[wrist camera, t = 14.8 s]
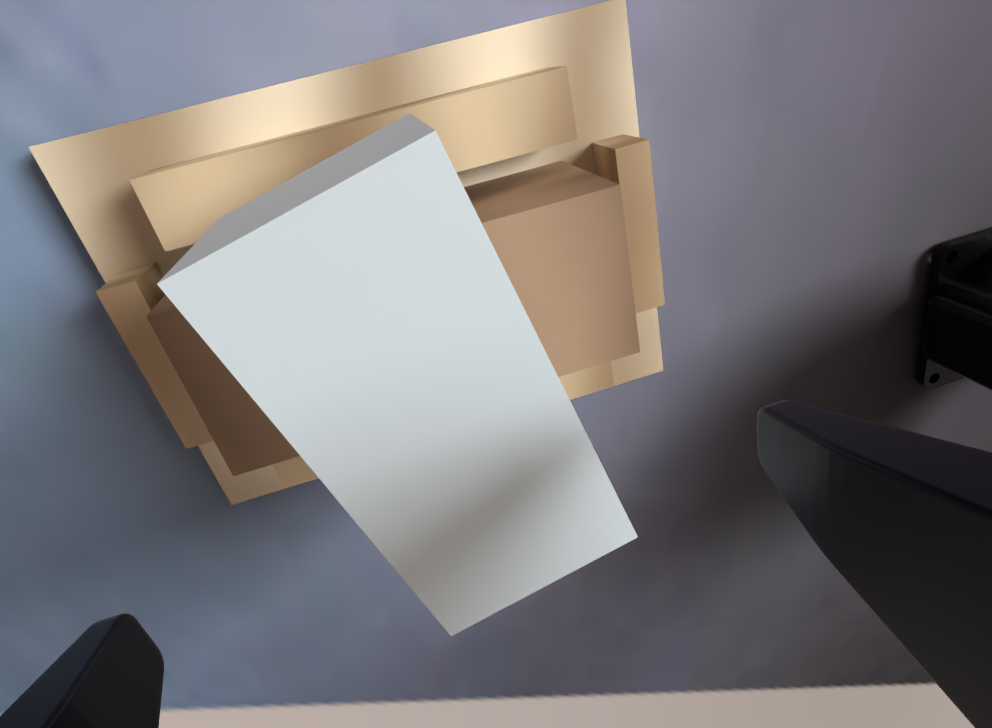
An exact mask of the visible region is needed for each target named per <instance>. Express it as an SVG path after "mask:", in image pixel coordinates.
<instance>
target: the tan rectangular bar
mask: <svg viewBox="0 0 992 728" xmlns="http://www.w3.org/2000/svg"><path fill="white" fill-rule="evenodd" d="M464 189H465V191H466V193H467V195H468V197H469V199H470V201H471V203H472V205H473V207H474V209H475V211H476V213H477V215H478V217H479V219H480V221H481V223H482V225H483V227H484V229H485V231H486V233H487V235H488V237H489V239H490V241H491V243H492V245H493V247H494V249H495V251H496V253H497V255H498V257H499V259H500V261H501V263H502V265H503V267H504V269H505V271H506V273H507V275H508V277H509V279H510V281H511V283H512V285H513V287H514V289H515V291H516V293H517V295H518V297H519V299H520V301H521V303H522V305H523V307H524V309H525V311H526V313H527V315H528V317H529V319H530V321H531V323H532V325H533V327H534V329H535V331H536V333H537V335H538V337H539V339H540V341H541V343H542V345H543V347H544V349H545V351H546V353H547V355H548V357H549V359H550V361H551V363H552V365H553V367H554V369H555V371H556V373H557V375H558V377H560V376H564V375H567V374H570V373H573V372H577V371H580V370H583V369H586V368H590V367H593V366H596V365H600V364H603V363H606V362H609V361H613V360H616V359H619V358H622V357H626V356H629V355H632V354H636V353H639V352H640V346H639V337H638V329H637V320H636V312H635V304H634V295H633V287H632V278H631V270H630V261H629V253H628V245H627V236H626V228H625V219H624V211H623V203H622V194H621V186H620V184H618V183H615V182H613V181H610V180H608V179H605V178H603V177H601V176H598V175H596V174H593V173H591V172H588V171H586V170H583V169H581V168H578V167H576V166H573V165H571V164H569V163H566V162H564V161H558V162H555V163H551V164H547V165H544V166H540V167H536V168H533V169H529V170H525V171H521V172H518V173H514V174H510V175H507V176H503V177H499V178H496V179H492V180H488V181H485V182H481V183H477V184H474V185H470V186H466V187H464ZM146 317H147V319H148V321H149V323H150V324H151V326H152V328H153V330H154V332H155V334H156V335H157V337H158V339H159V341H160V343H161V345H162V346H163V348H164V350H165V352H166V354H167V356H168V358H169V359H170V361H171V363H172V365H173V367H174V369H175V370H176V372H177V374H178V376H179V378H180V380H181V381H182V383H183V385H184V387H185V389H186V391H187V392H188V394H189V396H190V398H191V400H192V402H193V403H194V405H195V407H196V409H197V411H198V413H199V414H200V416H201V418H202V420H203V422H204V424H205V425H206V427H207V429H208V431H209V433H210V435H211V436H212V438H213V440H214V442H215V444H216V446H217V447H218V449H219V451H220V453H221V455H222V457H223V458H224V460H225V462H226V464H227V466H228V468H229V469H230V471H231V473H232V475H233V476H236V475H240V474H243V473H246V472H250V471H253V470H256V469H259V468H263V467H266V466H269V465H272V464H276V463H279V462H282V461H286V460H289V459H292V458H295V457H299V456H300V455H299V454H298V452H297V451H296V450H295V449H294V448H293V446H292V445H291V444H290V443H289V442H288V441H287V439H286V438H285V437H284V436H283V435H282V433H281V432H280V431H279V430H278V429H277V427H276V426H275V425H274V424H273V423H272V421H271V420H270V419H269V418H268V417H267V415H266V414H265V413H264V412H263V411H262V409H261V408H260V407H259V406H258V405H257V403H256V402H255V401H254V400H253V399H252V397H251V396H250V395H249V394H248V393H247V391H246V390H245V389H244V388H243V387H242V385H241V384H240V383H239V382H238V381H237V379H236V378H235V377H234V376H233V375H232V373H231V372H230V371H229V370H228V369H227V367H226V366H225V365H224V364H223V363H222V361H221V360H220V359H219V358H218V357H217V356H216V354H215V353H214V352H213V351H212V350H211V348H210V347H209V346H208V345H207V344H206V342H205V341H204V340H203V339H202V338H201V336H200V335H199V334H198V333H197V332H196V330H195V329H194V328H193V327H192V326H191V324H190V323H189V322H188V321H187V320H186V318H185V317H184V316H183V315H182V314H181V312H180V311H179V310H178V309H177V308H176V306H175V305H174V304H173V303H172V302H171V300H170V299H169V298H168V297H167V296H166V294H165V296H164V297H163V298H162V299H161V300H160V301H159V302H158V304H157V305H156V306H155V307H154V308H153V309H152V310H151V312H150V313H149V314H148V315H147V316H146Z"/></svg>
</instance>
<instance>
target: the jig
mask: <svg viewBox="0 0 992 728" xmlns="http://www.w3.org/2000/svg"><path fill="white" fill-rule="evenodd" d="M409 113H410V114H412V115H413V116H415V117H416V118H418V119H419V120H421V121H422V122H424V123H425V124H427V125H428V126H430V127H431V128H433V129H434V130H436V132H437V134H438V136H439V138H440V140H441V142H442V145H443V147H444V149H445V151H446V153H447V155H448V157H449V159H450V161H451V163H452V165H453V167H454V169H455V171H456V173H457V175H458V177H459V179H460V181H461V183H462V185H463V187H466V186H470V185H474V184H477V183H481V182H485V181H488V180H492V179H496V178H499V177H503V176H507V175H510V174H514V173H518V172H521V171H525V170H529V169H533V168H536V167H540V166H544V165H547V164H551V163H555V162H558V161H564V162H566V163H569V164H571V165H573V166H576V167H578V168H581V169H583V170H586V171H588V172H591V173H593V174H596V175H598V176H601V177H603V178H605V179H608V180H610V181H613V182H615V183H618V184H620V186H621V194H622V203H623V211H624V219H625V228H626V236H627V245H628V253H629V261H630V270H631V278H632V287H633V295H634V304H635V312H636V320H637V329H638V337H639V346H640V352H639V353H636V354H632V355H629V356H626V357H622V358H619V359H616V360H613V361H609V362H606V363H603V364H600V365H596V366H593V367H590V368H586V369H583V370H580V371H577V372H573V373H570V374H567V375H564V376H560V377H559V379H560V382H561V384H562V386H563V388H564V390H565V392H566V394H567V396H568V398H569V400H571V399H574V398H577V397H580V396H583V395H587V394H590V393H593V392H596V391H600V390H603V389H606V388H609V387H612V386H616V385H619V384H622V383H625V382H628V381H632V380H635V379H638V378H641V377H644V376H648V375H651V374H654V373H657V372H660V371H663V363H662V353H661V343H660V333H659V324H658V314H657V307H659V306H663V305H665V300H664V290H663V279H662V269H661V258H660V248H659V237H658V227H657V216H656V206H655V195H654V184H653V174H652V163H651V153H650V142H649V140H648V139H643V138H639V128H638V118H637V108H636V98H635V89H634V79H633V69H632V59H631V50H630V40H629V30H628V20H627V10H626V1H625V0H611V1H607V2H603V3H599V4H595V5H591V6H587V7H583V8H579V9H575V10H571V11H568V12H564V13H560V14H556V15H552V16H548V17H544V18H540V19H536V20H532V21H528V22H524V23H520V24H516V25H512V26H508V27H504V28H500V29H496V30H492V31H488V32H484V33H480V34H476V35H472V36H468V37H464V38H460V39H456V40H452V41H448V42H444V43H440V44H437V45H433V46H429V47H425V48H421V49H417V50H413V51H409V52H405V53H401V54H397V55H393V56H389V57H385V58H381V59H377V60H373V61H369V62H365V63H361V64H357V65H353V66H349V67H345V68H341V69H337V70H333V71H329V72H325V73H321V74H317V75H313V76H309V77H305V78H302V79H298V80H294V81H290V82H286V83H282V84H278V85H274V86H270V87H266V88H262V89H258V90H254V91H250V92H246V93H242V94H238V95H234V96H230V97H226V98H222V99H218V100H214V101H210V102H206V103H202V104H198V105H194V106H190V107H186V108H182V109H178V110H174V111H170V112H167V113H163V114H159V115H155V116H151V117H147V118H143V119H139V120H135V121H131V122H127V123H123V124H119V125H115V126H111V127H107V128H103V129H99V130H95V131H91V132H87V133H83V134H79V135H75V136H71V137H67V138H63V139H59V140H55V141H51V142H47V143H43V144H39V145H35V146H32V147H29V149H30V151H31V152H32V154H33V156H34V158H35V159H36V161H37V163H38V165H39V166H40V168H41V170H42V172H43V173H44V175H45V177H46V179H47V181H48V182H49V184H50V186H51V188H52V189H53V191H54V193H55V195H56V196H57V198H58V200H59V202H60V203H61V205H62V207H63V209H64V211H65V212H66V214H67V216H68V218H69V219H70V221H71V223H72V225H73V226H74V228H75V230H76V232H77V233H78V235H79V237H80V239H81V241H82V242H83V244H84V246H85V248H86V249H87V251H88V253H89V255H90V256H91V258H92V260H93V262H94V263H95V265H96V267H97V269H98V271H99V272H100V274H101V276H102V278H103V279H104V281H105V283H106V284H104V285H103V286H102V287H101V288H100V289H98V290H97V291H96V292H95V293H96V294H97V296H98V298H99V299H100V301H101V303H102V305H103V306H104V308H105V310H106V312H107V313H108V315H109V317H110V318H111V320H112V322H113V324H114V325H115V327H116V329H117V330H118V332H119V334H120V336H121V337H122V339H123V341H124V343H125V344H126V346H127V348H128V349H129V351H130V353H131V355H132V356H133V358H134V360H135V362H136V363H137V365H138V367H139V368H140V370H141V372H142V374H143V375H144V377H145V379H146V381H147V382H148V384H149V386H150V387H151V389H152V391H153V393H154V394H155V396H156V398H157V399H158V401H159V403H160V405H161V406H162V408H163V410H164V412H165V413H166V415H167V417H168V418H169V420H170V422H171V424H172V425H173V427H174V429H175V431H176V432H177V434H178V436H179V437H180V439H181V441H182V443H183V444H184V446H185V448H186V449H189V448H192V447H195V446H198V447H199V449H200V451H201V452H202V454H203V456H204V458H205V459H206V461H207V463H208V465H209V466H210V468H211V470H212V472H213V474H214V475H215V477H216V479H217V481H218V482H219V484H220V486H221V488H222V489H223V491H224V493H225V495H226V496H227V498H228V500H229V502H230V504H231V505H234V504H237V503H240V502H244V501H247V500H250V499H253V498H256V497H260V496H263V495H266V494H269V493H272V492H276V491H279V490H282V489H285V488H288V487H292V486H295V485H298V484H301V483H304V482H308V481H311V480H314V479H317V478H318V476H317V475H316V474H315V473H314V472H313V470H312V469H311V468H310V467H309V466H308V464H307V463H306V462H305V461H304V460H303V458H302V457H301V456H299V457H295V458H292V459H289V460H286V461H282V462H279V463H276V464H272V465H269V466H266V467H263V468H259V469H256V470H253V471H250V472H246V473H243V474H240V475H236V476H233V475H232V473H231V471H230V469H229V468H228V466H227V464H226V462H225V460H224V458H223V457H222V455H221V453H220V451H219V449H218V447H217V446H216V444H215V442H214V440H213V438H212V436H211V435H210V433H209V431H208V429H207V427H206V425H205V424H204V422H203V420H202V418H201V416H200V414H199V413H198V411H197V409H196V407H195V405H194V403H193V402H192V400H191V398H190V396H189V394H188V392H187V391H186V389H185V387H184V385H183V383H182V381H181V380H180V378H179V376H178V374H177V372H176V370H175V369H174V367H173V365H172V363H171V361H170V359H169V358H168V356H167V354H166V352H165V350H164V348H163V346H162V345H161V343H160V341H159V339H158V337H157V335H156V334H155V332H154V330H153V328H152V326H151V324H150V323H149V321H148V319H147V317H146V316H147V315H148V314H149V313H150V312H151V310H152V309H153V308H154V307H155V306H156V305H157V304H158V302H159V301H160V300H161V299H162V298H163V297H164V296H165V293H164V292H163V291H162V290H161V288H160V287H159V286H158V285H157V283H158V282H159V281H160V280H161V279H162V278H163V277H164V276H165V275H166V274H167V273H168V272H169V271H170V270H171V269H172V267H173V266H174V265H175V264H176V263H177V262H178V261H179V260H180V259H181V258H182V257H183V256H184V255H185V254H186V253H187V252H188V251H189V250H190V249H191V248H192V247H193V245H194V244H195V243H196V242H197V241H198V240H199V239H200V238H201V237H202V236H203V235H204V234H205V233H206V232H207V231H208V230H209V229H210V228H211V227H212V226H213V225H214V223H215V222H216V221H217V220H218V219H219V218H220V217H222V216H224V215H226V214H228V213H229V212H231V211H233V210H235V209H237V208H239V207H240V206H242V205H244V204H246V203H248V202H249V201H251V200H253V199H255V198H257V197H258V196H260V195H262V194H264V193H266V192H267V191H269V190H271V189H273V188H275V187H277V186H278V185H280V184H282V183H284V182H286V181H287V180H289V179H291V178H293V177H295V176H296V175H298V174H300V173H302V172H304V171H305V170H307V169H309V168H311V167H313V166H315V165H316V164H318V163H320V162H322V161H324V160H325V159H327V158H329V157H331V156H333V155H334V154H336V153H338V152H340V151H342V150H343V149H345V148H347V147H349V146H351V145H353V144H354V143H356V142H358V141H360V140H362V139H363V138H365V137H367V136H369V135H371V134H372V133H374V132H376V131H378V130H380V129H381V128H383V127H385V126H387V125H389V124H391V123H392V122H394V121H396V120H398V119H400V118H401V117H403V116H405V115H407V114H409Z"/></svg>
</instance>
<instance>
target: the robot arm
mask: <svg viewBox="0 0 992 728" xmlns="http://www.w3.org/2000/svg"><path fill="white" fill-rule="evenodd" d="M947 256H948V257H947ZM962 378H967V379H969V380H971V381H973V382H975V383H977V384H979V385H981V386H983V387H985V388H988V389H990V390H992V228H991V229H987V230H984V231H981V232H978V233H974V234H971V235H968V236H965V237H961V238H958V239H955V240H951V241H948V242H945V243H943V244H941V245H940V246H939V247H937V248H936V250H935V251H934V253H933V256H932V261H931V268H930V276H929V284H928V291H927V299H926V307H925V315H924V322H923V330H922V338H921V345H920V353H919V361H918V368H917V376H916V380H917V382H918V383H919V384H920V385H922V386H924V387H926V388H929V389H930V388H935V387H938V386H941V385H944V384H947V383H950V382H953V381H956V380H959V379H962ZM757 452H758V458H759V461H760V464H761V466H762V468H763V469H764V471H765V472H766V474H767V475H768V476H769V478H770V479H771V481H772V482H773V484H774V485H775V486H776V488H777V489H778V491H779V492H780V493H781V495H782V496H783V498H784V499H785V501H786V502H787V503H788V505H789V506H790V508H791V509H792V510H793V512H794V513H795V515H796V516H797V518H798V519H799V520H800V522H801V523H802V525H803V526H804V527H805V529H806V530H807V532H808V533H809V535H810V536H811V537H812V539H813V540H814V542H815V543H816V544H817V546H818V547H819V548H820V550H821V551H822V552H823V554H824V555H825V556H826V557H827V558H828V560H829V561H830V562H831V563H832V564H833V566H834V567H835V568H836V569H837V570H838V571H839V573H840V574H841V575H842V576H843V577H844V578H845V579H846V581H847V582H848V583H849V584H850V585H851V586H852V587H853V589H854V590H855V591H856V592H857V593H858V594H859V595H860V597H861V598H862V599H863V600H864V601H865V602H866V603H867V605H868V606H869V607H870V608H871V609H872V610H873V611H874V613H875V614H876V615H877V616H878V617H879V618H880V619H881V621H882V622H883V623H884V624H885V625H886V626H887V627H888V629H889V630H890V631H891V632H892V633H893V634H894V635H895V637H896V638H897V639H898V640H899V641H900V642H901V643H902V645H903V646H904V647H905V648H906V649H907V650H908V652H909V653H910V654H911V655H912V656H913V657H914V658H915V660H916V661H917V662H918V663H919V664H920V665H921V666H922V668H923V669H924V670H925V671H926V672H927V673H928V674H929V676H930V677H931V678H932V679H933V680H934V681H935V682H936V684H937V685H938V686H939V687H940V688H941V689H942V690H943V692H944V693H945V694H946V695H947V696H948V697H949V698H950V699H951V701H952V702H953V703H954V704H955V705H956V706H957V708H958V709H959V710H960V711H961V712H962V713H963V714H964V716H965V717H966V718H967V719H968V720H969V721H970V722H971V724H972V725H973V726H974V727H975V728H992V453H991V452H987V451H983V450H980V449H976V448H972V447H968V446H964V445H960V444H956V443H953V442H949V441H945V440H941V439H937V438H933V437H929V436H926V435H922V434H918V433H914V432H910V431H906V430H902V429H898V428H895V427H891V426H887V425H883V424H879V423H875V422H871V421H868V420H864V419H860V418H856V417H852V416H848V415H844V414H840V413H837V412H833V411H829V410H825V409H821V408H817V407H813V406H810V405H806V404H802V403H798V402H794V401H790V400H783V401H779V402H776V403H773V404H770V405H767V406H764V407H762V408H761V409H760V410H759V411H758V414H757ZM163 675H164V661H163V657H162V654H161V652H160V650H159V648H158V647H157V646H156V644H155V643H154V642H153V640H152V639H151V638H150V636H149V635H148V634H147V632H146V631H145V630H144V629H143V627H142V626H141V625H140V623H139V622H138V621H137V619H136V618H135V617H134V616H132V615H130V614H120V615H117V616H114V617H110V618H107V619H104V620H101V621H99V622H96V623H94V624H93V625H91V626H90V627H89V628H88V629H87V630H86V631H85V632H84V633H83V634H82V635H81V636H80V637H79V638H78V639H77V640H76V641H75V642H74V643H73V644H72V645H71V646H70V647H69V648H68V649H67V650H66V651H65V652H64V653H63V654H62V655H61V656H60V657H59V658H58V659H57V660H56V661H55V662H54V663H53V664H52V665H51V666H50V667H49V668H48V669H47V670H46V671H45V672H44V673H43V674H42V675H41V676H40V677H39V678H38V679H37V680H36V681H35V682H34V683H33V684H32V685H31V686H30V687H29V688H28V689H27V690H26V691H25V692H24V693H23V694H22V695H21V696H20V697H19V698H18V699H17V700H16V701H15V702H14V703H13V704H12V705H11V706H10V707H9V708H8V709H7V710H6V711H5V712H4V713H3V714H2V715H1V716H0V728H158V726H159V716H160V706H161V695H162V685H163Z"/></svg>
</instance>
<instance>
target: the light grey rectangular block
mask: <svg viewBox="0 0 992 728" xmlns="http://www.w3.org/2000/svg"><path fill="white" fill-rule="evenodd" d="M157 285H158V286H159V287H160V288H161V290H162V291H163V292H164V293H165V294H166V296H167V297H168V298H169V299H170V300H171V302H172V303H173V304H174V305H175V306H176V308H177V309H178V310H179V311H180V312H181V314H182V315H183V316H184V317H185V318H186V320H187V321H188V322H189V323H190V324H191V326H192V327H193V328H194V329H195V330H196V332H197V333H198V334H199V335H200V336H201V338H202V339H203V340H204V341H205V342H206V344H207V345H208V346H209V347H210V348H211V350H212V351H213V352H214V353H215V354H216V356H217V357H218V358H219V359H220V360H221V361H222V363H223V364H224V365H225V366H226V367H227V369H228V370H229V371H230V372H231V373H232V375H233V376H234V377H235V378H236V379H237V381H238V382H239V383H240V384H241V385H242V387H243V388H244V389H245V390H246V391H247V393H248V394H249V395H250V396H251V397H252V399H253V400H254V401H255V402H256V403H257V405H258V406H259V407H260V408H261V409H262V411H263V412H264V413H265V414H266V415H267V417H268V418H269V419H270V420H271V421H272V423H273V424H274V425H275V426H276V427H277V429H278V430H279V431H280V432H281V433H282V435H283V436H284V437H285V438H286V439H287V441H288V442H289V443H290V444H291V445H292V446H293V448H294V449H295V450H296V451H297V452H298V454H299V455H300V456H301V457H302V458H303V460H304V461H305V462H306V463H307V464H308V466H309V467H310V468H311V469H312V470H313V472H314V473H315V474H316V475H317V476H318V478H319V479H320V480H321V481H322V482H323V484H324V485H325V486H326V487H327V488H328V490H329V491H330V492H331V493H332V494H333V496H334V497H335V498H336V499H337V500H338V502H339V503H340V504H341V505H342V506H343V508H344V509H345V510H346V511H347V512H348V514H349V515H350V516H351V517H352V518H353V520H354V521H355V522H356V523H357V524H358V525H359V527H360V528H361V529H362V530H363V531H364V533H365V534H366V535H367V536H368V537H369V539H370V540H371V541H372V542H373V543H374V545H375V546H376V547H377V548H378V549H379V551H380V552H381V553H382V554H383V555H384V557H385V558H386V559H387V560H388V561H389V563H390V564H391V565H392V566H393V567H394V569H395V570H396V571H397V572H398V573H399V575H400V576H401V577H402V578H403V579H404V581H405V582H406V583H407V584H408V585H409V587H410V588H411V589H412V590H413V591H414V593H415V594H416V595H417V596H418V597H419V599H420V600H421V601H422V602H423V603H424V605H425V606H426V607H427V608H428V609H429V610H430V612H431V613H432V614H433V615H434V616H435V618H436V619H437V620H438V621H439V622H440V624H441V625H442V626H443V627H444V628H445V630H446V631H447V632H448V633H449V634H450V636H453V635H455V634H457V633H458V632H460V631H462V630H464V629H466V628H468V627H470V626H472V625H474V624H475V623H477V622H479V621H481V620H483V619H485V618H487V617H489V616H490V615H492V614H494V613H496V612H498V611H500V610H502V609H504V608H506V607H507V606H509V605H511V604H513V603H515V602H517V601H519V600H521V599H522V598H524V597H526V596H528V595H530V594H532V593H534V592H536V591H538V590H539V589H541V588H543V587H545V586H547V585H549V584H551V583H553V582H555V581H556V580H558V579H560V578H562V577H564V576H566V575H568V574H570V573H571V572H573V571H575V570H577V569H579V568H581V567H583V566H585V565H587V564H588V563H590V562H592V561H594V560H596V559H598V558H600V557H602V556H603V555H605V554H607V553H609V552H611V551H613V550H615V549H617V548H619V547H620V546H622V545H624V544H626V543H628V542H630V541H632V540H634V539H636V538H637V537H638V536H637V534H636V532H635V530H634V528H633V526H632V524H631V522H630V520H629V518H628V516H627V514H626V512H625V510H624V508H623V506H622V504H621V502H620V500H619V498H618V496H617V494H616V492H615V490H614V488H613V486H612V484H611V482H610V480H609V478H608V476H607V474H606V472H605V470H604V468H603V466H602V464H601V462H600V460H599V458H598V456H597V454H596V452H595V450H594V448H593V446H592V444H591V442H590V440H589V438H588V436H587V434H586V432H585V430H584V428H583V426H582V424H581V422H580V420H579V418H578V416H577V414H576V412H575V410H574V408H573V406H572V404H571V402H570V400H569V398H568V396H567V394H566V392H565V390H564V388H563V386H562V384H561V382H560V379H559V377H558V375H557V373H556V371H555V369H554V367H553V365H552V363H551V361H550V359H549V357H548V355H547V353H546V351H545V349H544V347H543V345H542V343H541V341H540V339H539V337H538V335H537V333H536V331H535V329H534V327H533V325H532V323H531V321H530V319H529V317H528V315H527V313H526V311H525V309H524V307H523V305H522V303H521V301H520V299H519V297H518V295H517V293H516V291H515V289H514V287H513V285H512V283H511V281H510V279H509V277H508V275H507V273H506V271H505V269H504V267H503V265H502V263H501V261H500V259H499V257H498V255H497V253H496V251H495V249H494V247H493V245H492V243H491V241H490V239H489V237H488V235H487V233H486V231H485V229H484V227H483V225H482V223H481V221H480V219H479V217H478V215H477V213H476V211H475V209H474V207H473V205H472V203H471V201H470V199H469V197H468V195H467V193H466V191H465V189H464V187H463V185H462V183H461V181H460V179H459V177H458V175H457V173H456V171H455V169H454V167H453V165H452V163H451V161H450V159H449V157H448V155H447V153H446V151H445V149H444V147H443V145H442V142H441V140H440V138H439V136H438V134H437V132H436V130H434V129H433V128H431V127H430V126H428V125H427V124H425V123H424V122H422V121H421V120H419V119H418V118H416V117H415V116H413V115H412V114H410V113H409V114H407V115H405V116H403V117H401V118H400V119H398V120H396V121H394V122H392V123H391V124H389V125H387V126H385V127H383V128H381V129H380V130H378V131H376V132H374V133H372V134H371V135H369V136H367V137H365V138H363V139H362V140H360V141H358V142H356V143H354V144H353V145H351V146H349V147H347V148H345V149H343V150H342V151H340V152H338V153H336V154H334V155H333V156H331V157H329V158H327V159H325V160H324V161H322V162H320V163H318V164H316V165H315V166H313V167H311V168H309V169H307V170H305V171H304V172H302V173H300V174H298V175H296V176H295V177H293V178H291V179H289V180H287V181H286V182H284V183H282V184H280V185H278V186H277V187H275V188H273V189H271V190H269V191H267V192H266V193H264V194H262V195H260V196H258V197H257V198H255V199H253V200H251V201H249V202H248V203H246V204H244V205H242V206H240V207H239V208H237V209H235V210H233V211H231V212H229V213H228V214H226V215H224V216H222V217H220V218H219V219H218V220H217V221H216V222H215V223H214V225H213V226H212V227H211V228H210V229H209V230H208V231H207V232H206V233H205V234H204V235H203V236H202V237H201V238H200V239H199V240H198V241H197V242H196V243H195V244H194V245H193V247H192V248H191V249H190V250H189V251H188V252H187V253H186V254H185V255H184V256H183V257H182V258H181V259H180V260H179V261H178V262H177V263H176V264H175V265H174V266H173V267H172V269H171V270H170V271H169V272H168V273H167V274H166V275H165V276H164V277H163V278H162V279H161V280H160V281H159V282H158V283H157Z"/></svg>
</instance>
